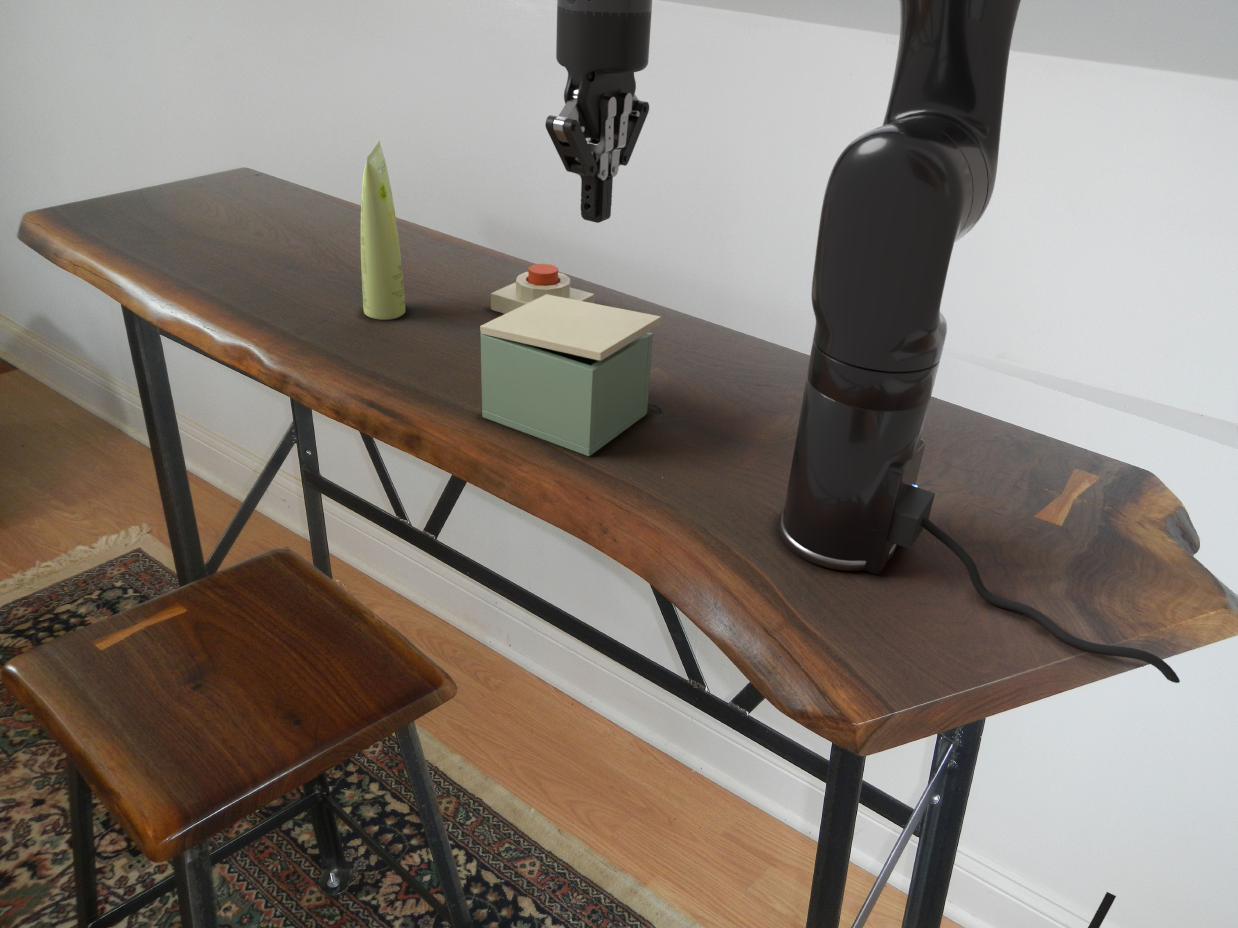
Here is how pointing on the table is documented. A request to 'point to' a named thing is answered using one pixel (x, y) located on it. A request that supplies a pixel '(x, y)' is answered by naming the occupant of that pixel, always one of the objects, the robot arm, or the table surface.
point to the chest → (565, 391)
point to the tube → (380, 243)
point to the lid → (572, 326)
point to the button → (543, 274)
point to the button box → (534, 293)
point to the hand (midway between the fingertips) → (595, 219)
